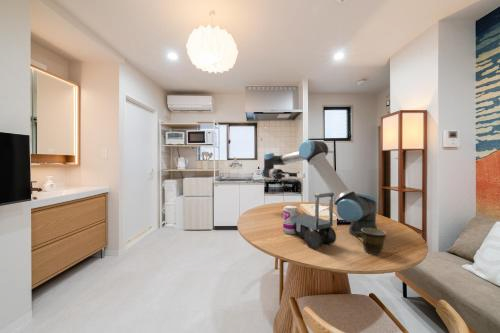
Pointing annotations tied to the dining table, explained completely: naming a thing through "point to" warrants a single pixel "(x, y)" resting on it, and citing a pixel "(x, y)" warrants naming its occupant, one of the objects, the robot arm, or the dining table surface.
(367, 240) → the ceramic cup
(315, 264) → the dining table surface
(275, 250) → the dining table surface
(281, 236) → the dining table surface
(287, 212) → the supplement can
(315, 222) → the trolley
